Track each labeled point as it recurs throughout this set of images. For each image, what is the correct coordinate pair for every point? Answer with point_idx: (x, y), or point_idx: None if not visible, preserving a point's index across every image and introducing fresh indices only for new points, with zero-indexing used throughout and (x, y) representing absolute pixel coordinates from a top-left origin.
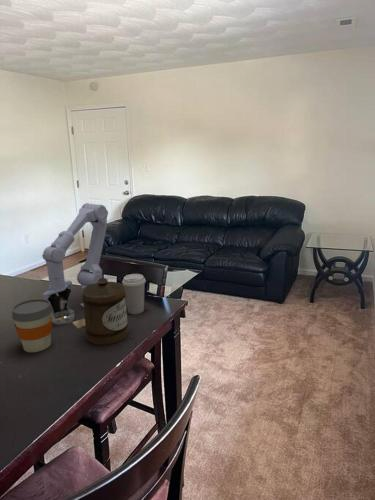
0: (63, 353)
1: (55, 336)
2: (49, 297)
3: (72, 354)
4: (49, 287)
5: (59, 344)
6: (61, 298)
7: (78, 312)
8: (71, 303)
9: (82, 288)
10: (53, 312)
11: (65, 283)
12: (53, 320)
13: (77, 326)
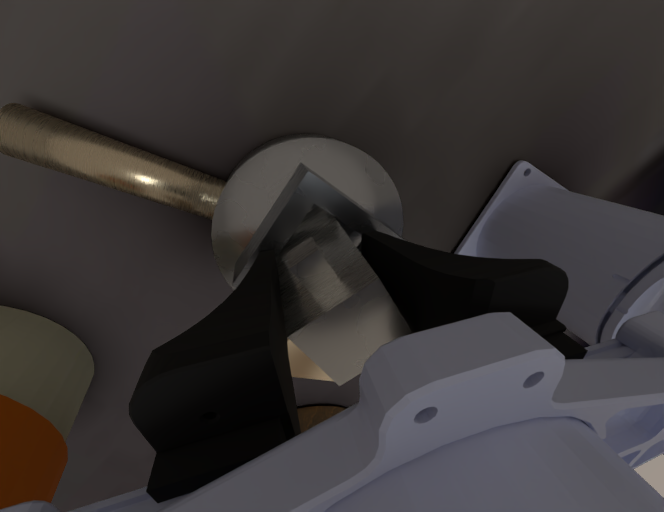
0: (91, 469)
1: (146, 351)
2: (172, 449)
3: (118, 485)
4: (378, 455)
5: (117, 416)
6: (351, 369)
7: (422, 230)
8: (539, 66)
9: (634, 277)
10: (253, 248)
11: (655, 440)
12: (219, 262)
13: None
